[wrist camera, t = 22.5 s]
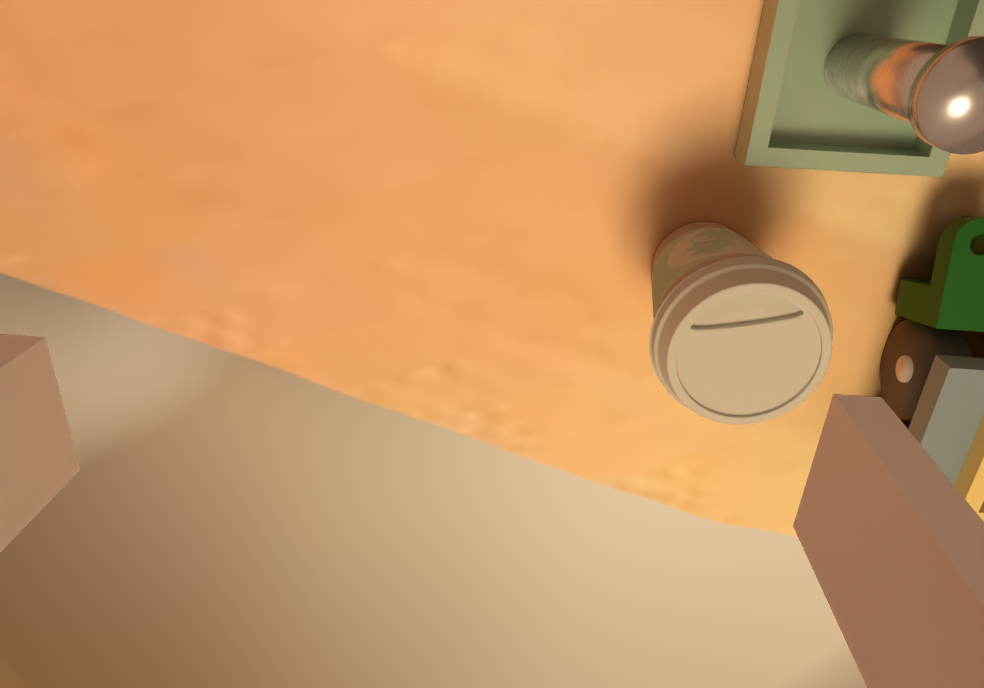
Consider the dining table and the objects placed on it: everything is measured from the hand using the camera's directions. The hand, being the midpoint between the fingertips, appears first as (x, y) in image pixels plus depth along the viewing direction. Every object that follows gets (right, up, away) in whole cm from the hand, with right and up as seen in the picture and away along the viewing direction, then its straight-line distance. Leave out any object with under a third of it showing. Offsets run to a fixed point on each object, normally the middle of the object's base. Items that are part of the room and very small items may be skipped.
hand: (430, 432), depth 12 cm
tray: (+20, +17, +26) cm, 37 cm away
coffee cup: (+14, +6, +32) cm, 35 cm away
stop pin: (+20, +16, +25) cm, 36 cm away
